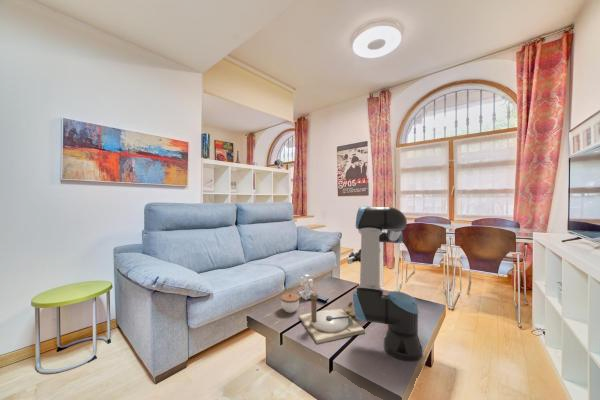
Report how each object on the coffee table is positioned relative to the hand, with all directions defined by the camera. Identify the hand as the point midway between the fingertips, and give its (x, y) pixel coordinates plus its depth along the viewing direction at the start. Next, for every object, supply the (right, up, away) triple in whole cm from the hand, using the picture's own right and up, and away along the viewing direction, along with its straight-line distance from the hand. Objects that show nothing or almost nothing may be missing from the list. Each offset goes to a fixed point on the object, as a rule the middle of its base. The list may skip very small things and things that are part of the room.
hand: (348, 261), depth 133 cm
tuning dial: (-11, -28, -10) cm, 32 cm away
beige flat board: (-12, -30, -10) cm, 34 cm away
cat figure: (+11, -30, +3) cm, 32 cm away
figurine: (-23, -30, +22) cm, 43 cm away
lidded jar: (-33, -30, +6) cm, 45 cm away
